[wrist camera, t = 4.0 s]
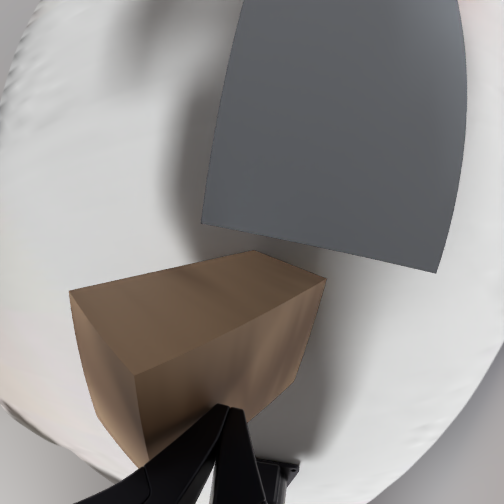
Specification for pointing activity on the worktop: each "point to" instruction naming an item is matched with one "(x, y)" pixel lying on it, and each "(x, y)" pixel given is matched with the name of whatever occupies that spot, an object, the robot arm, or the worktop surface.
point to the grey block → (343, 127)
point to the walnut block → (191, 344)
